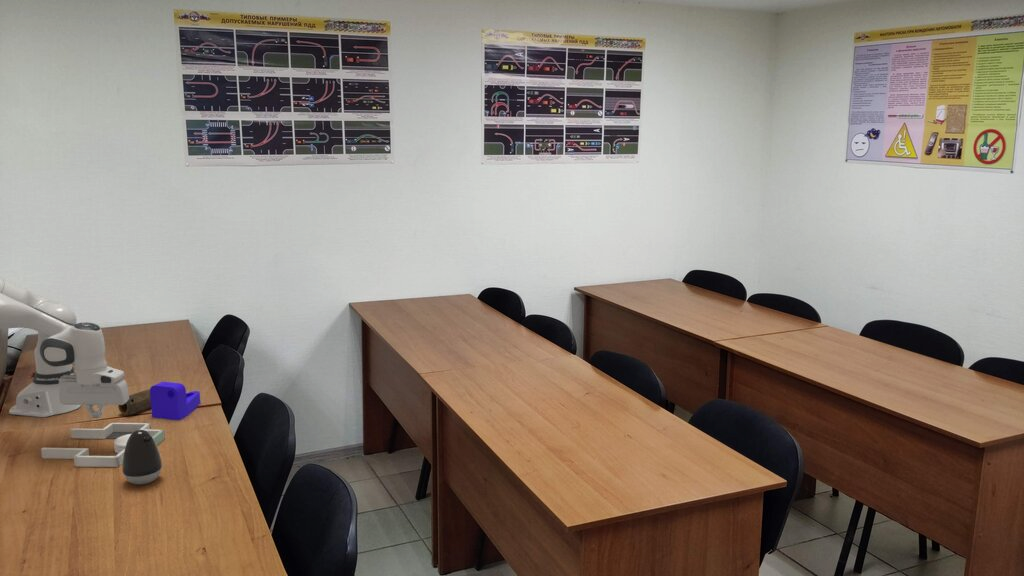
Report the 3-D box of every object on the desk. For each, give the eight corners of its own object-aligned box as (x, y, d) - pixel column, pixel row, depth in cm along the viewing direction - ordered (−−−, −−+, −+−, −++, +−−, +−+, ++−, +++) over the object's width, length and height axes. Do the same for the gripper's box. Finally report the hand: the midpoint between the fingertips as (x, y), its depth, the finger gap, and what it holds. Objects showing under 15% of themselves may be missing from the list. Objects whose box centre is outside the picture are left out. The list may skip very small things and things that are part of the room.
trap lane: (31, 465, 239) (29, 456, 239) (82, 430, 267) (81, 422, 266) (131, 467, 239) (130, 457, 238) (172, 432, 266) (171, 423, 266)
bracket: (179, 420, 277) (176, 387, 275) (152, 417, 280) (149, 385, 277) (211, 403, 294) (209, 372, 292) (185, 401, 297) (183, 370, 295)
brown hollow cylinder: (133, 418, 279) (131, 400, 277) (117, 416, 281) (115, 397, 280) (164, 404, 293) (162, 387, 291) (148, 402, 295) (147, 385, 294)
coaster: (156, 445, 256) (155, 435, 255) (132, 457, 246) (131, 446, 246) (131, 441, 259) (130, 431, 258) (107, 452, 250) (106, 442, 249)
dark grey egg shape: (138, 492, 223) (133, 440, 220) (116, 483, 228) (111, 432, 225) (171, 478, 231) (167, 428, 228) (148, 470, 237) (144, 421, 234)
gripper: (52, 378, 246) (57, 420, 249) (119, 378, 246) (124, 421, 249) (63, 371, 252) (68, 413, 255) (129, 371, 252) (133, 413, 255)
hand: (96, 417), depth 252 cm, fingers closed
